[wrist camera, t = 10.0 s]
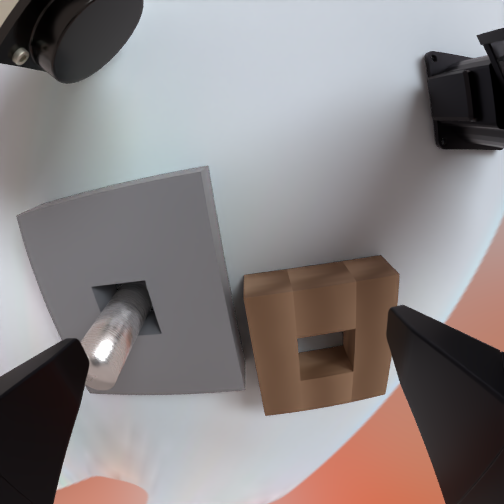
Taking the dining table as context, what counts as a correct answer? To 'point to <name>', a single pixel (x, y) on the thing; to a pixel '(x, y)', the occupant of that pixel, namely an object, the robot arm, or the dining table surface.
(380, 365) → the walnut mount
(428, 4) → the dining table surface
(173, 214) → the socket plate
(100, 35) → the pneumatic valve
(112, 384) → the steel pin
